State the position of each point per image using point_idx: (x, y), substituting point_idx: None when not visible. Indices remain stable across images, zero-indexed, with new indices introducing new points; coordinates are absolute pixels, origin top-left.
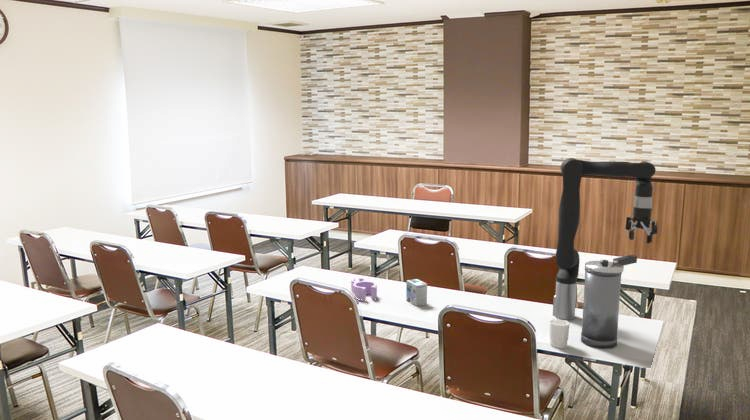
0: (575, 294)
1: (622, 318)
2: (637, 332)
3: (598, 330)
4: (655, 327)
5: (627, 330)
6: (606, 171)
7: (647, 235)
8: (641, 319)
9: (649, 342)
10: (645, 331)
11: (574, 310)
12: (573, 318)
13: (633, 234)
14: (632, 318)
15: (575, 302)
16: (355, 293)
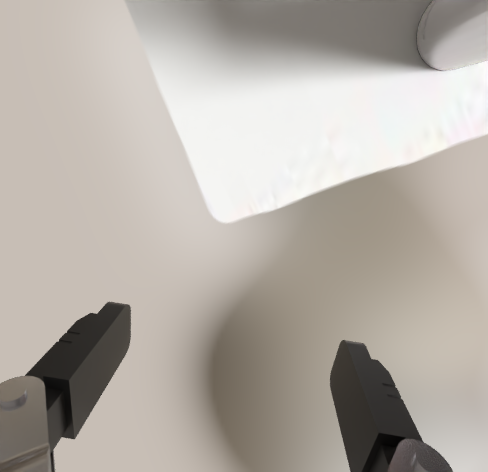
0: (474, 9)
1: (294, 173)
2: (206, 86)
3: None
4: (194, 172)
5: (234, 78)
6: None
7: (63, 375)
8: (251, 206)
9: (140, 26)
10: (196, 115)
11: (431, 30)
12: (417, 32)
13: (348, 430)
14: (273, 195)
15: (450, 32)
16: None
